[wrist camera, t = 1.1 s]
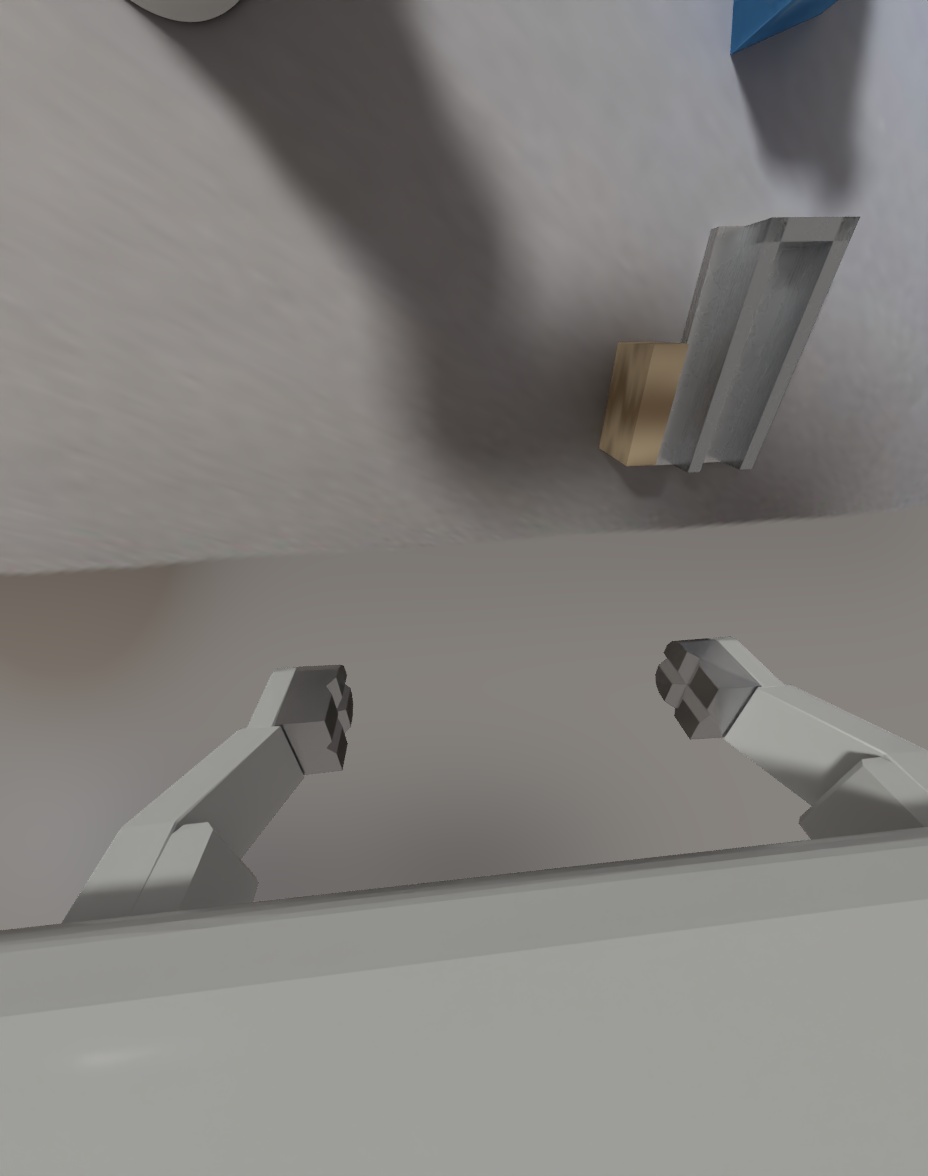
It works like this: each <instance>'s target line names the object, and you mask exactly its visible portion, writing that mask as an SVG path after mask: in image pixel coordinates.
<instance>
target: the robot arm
mask: <svg viewBox="0 0 928 1176" xmlns="http://www.w3.org/2000/svg"><path fill="white" fill-rule="evenodd" d="M131 1H132V2H134V3H135V4H137V5H139V6H140V7H142V8H144V9H146V10H148V11H150V12H152V13H154V14H156V15H159V16H162V17H165V18H168V19H171V20H176V21H183V22H199V21H205V20H209V19H212V18H215V17H217V16H219V15H221V14H223V13H225V12H226V11H228V10H229V9H230V8H232V7H233V6H234V5H235V4H236V3H237V2H238V1H239V0H131ZM664 654H665V655H666V657H667V659H666V660H664V661H663V662H662V663H661V664H659V666H658V669H657V671H656V674H655V675H656V685H657V688H658V691H659V693H660V695H661V696H662V698H663V699H664V701H665V702H667V703H668V704H670V705H671V706H673V707H674V708H675V715H674V716H675V718H676V719H677V721H678V722H679V724H680V725H681V727H682V728H683V730H684V731H685V733H686V734H687V736H688V737H689V738H690V739H704V738H720V737H725V738H724V740H725V741H727V742H728V743H729V744H731V745H732V746H733V747H735V748H736V749H737V750H739V751H740V752H741V753H743V754H744V755H745V756H746V757H748V758H749V759H750V760H752V761H753V762H755V763H756V764H757V765H758V766H760V767H761V768H762V769H764V770H765V771H766V772H768V773H769V774H770V775H772V776H773V777H774V778H776V779H777V780H778V781H779V782H781V783H782V784H783V785H785V786H786V787H787V788H789V789H790V790H791V791H793V792H794V793H795V794H797V795H798V796H799V797H801V798H802V799H803V800H805V801H806V802H807V803H809V804H810V805H811V807H810V808H809V809H808V810H807V811H806V812H805V813H804V814H803V815H802V816H800V819H799V824H800V826H801V827H802V828H803V830H804V831H805V832H806V834H807V835H808V836H809V837H810V839H811V840H804V841H794V842H786V843H776V844H767V845H758V846H749V847H741V848H732V849H723V850H714V851H705V852H696V853H687V854H678V855H669V856H660V857H651V858H642V859H633V860H624V861H615V862H606V863H597V864H588V865H580V866H571V867H562V868H553V869H544V870H536V871H526V872H517V873H508V874H499V875H491V876H481V877H473V878H463V879H454V880H445V881H437V882H427V883H418V884H411V885H401V886H392V887H384V888H374V889H365V890H356V891H347V892H339V893H330V894H321V895H312V896H303V897H294V898H285V899H276V900H267V901H259V902H253V900H254V897H255V893H256V890H257V887H258V883H259V882H258V880H257V878H256V877H255V875H254V874H253V873H252V872H251V870H250V869H249V868H248V867H247V866H246V865H245V864H244V863H243V861H242V860H241V858H242V857H243V856H244V854H245V853H246V852H247V851H248V849H249V848H250V847H251V845H252V844H253V843H254V842H255V840H256V839H257V838H258V836H259V835H260V834H261V832H262V831H263V830H264V829H265V827H266V826H267V825H268V823H269V822H270V821H271V820H272V818H273V817H274V816H275V815H276V813H277V812H278V811H279V809H280V808H281V807H282V806H283V804H284V803H285V802H286V800H287V799H288V798H289V796H290V795H291V794H292V793H293V791H294V790H295V789H296V787H297V786H298V785H299V784H300V782H301V781H302V780H303V779H304V775H308V774H317V773H325V772H334V771H342V770H343V765H344V760H345V755H346V749H347V744H348V743H347V740H346V737H345V733H346V731H347V730H348V729H349V728H350V727H351V722H352V716H353V698H352V692H351V688H350V687H348V686H347V685H345V682H346V677H347V674H346V671H345V668H344V666H343V665H325V666H303V667H292V668H277V669H276V670H275V671H274V672H273V673H272V674H271V676H270V678H269V681H268V683H267V685H266V687H265V689H264V692H263V694H262V696H261V698H260V700H259V702H258V705H257V707H256V709H255V711H254V713H253V715H252V718H251V720H250V722H249V724H248V726H247V728H246V729H239V730H238V731H237V732H235V733H234V734H233V735H232V736H231V737H230V738H228V739H227V740H226V741H225V742H223V743H222V744H221V745H220V746H219V747H217V749H215V750H214V751H213V752H211V753H210V754H209V755H208V756H207V757H205V758H204V759H203V760H202V761H201V762H199V763H198V764H197V765H196V766H195V767H194V768H192V769H191V770H190V771H189V772H188V773H186V774H185V775H184V776H183V777H182V778H180V779H179V780H178V781H177V782H176V783H174V784H173V785H172V786H171V787H170V788H168V789H167V790H166V791H165V792H163V793H162V794H161V795H160V796H159V797H157V798H156V799H155V800H154V801H153V802H151V803H150V804H149V805H148V806H147V807H146V808H144V809H143V810H142V811H141V812H139V813H138V814H137V815H136V816H135V817H133V818H132V819H131V820H130V821H129V822H128V823H126V824H125V825H124V826H123V827H122V828H121V829H120V830H119V832H118V833H117V835H116V837H115V838H114V840H113V841H112V843H111V845H110V846H109V848H108V850H107V851H106V853H105V854H104V856H103V858H102V859H101V861H100V862H99V864H98V866H97V867H96V869H95V870H94V872H93V874H92V875H91V877H90V878H89V880H88V881H87V883H86V885H85V886H84V888H83V890H82V891H81V893H80V894H79V896H78V898H77V899H76V901H75V902H74V904H73V906H72V907H71V909H70V911H69V912H68V914H67V915H66V917H65V919H64V920H63V922H62V923H61V924H53V925H45V926H36V927H26V928H17V929H9V930H0V1176H928V751H927V750H925V749H923V748H921V747H919V746H917V745H915V744H913V743H911V742H909V741H907V740H905V739H902V738H900V737H898V736H896V735H894V734H892V733H890V732H888V731H886V730H884V729H882V728H880V727H878V726H875V725H873V724H871V723H869V722H867V721H865V720H863V719H861V718H859V717H857V716H855V715H853V714H850V713H848V712H846V711H844V710H842V709H840V708H838V707H836V706H834V705H832V704H830V703H828V702H826V701H823V700H821V699H819V698H817V697H815V696H813V695H811V694H809V693H807V692H805V691H803V690H800V689H799V688H796V687H795V686H792V685H784V684H783V683H782V682H781V681H780V680H779V679H778V678H777V677H776V676H775V675H774V674H772V672H771V671H769V670H768V669H767V668H766V667H765V666H764V665H763V664H762V663H761V662H760V661H759V660H758V659H757V658H756V657H755V656H754V655H753V654H752V653H750V652H749V650H747V649H746V648H745V647H744V646H743V645H742V644H741V643H740V642H739V641H738V640H737V639H735V638H732V637H720V638H710V639H695V640H681V641H672V642H670V643H669V644H668V645H667V647H666V649H665V651H664Z"/></svg>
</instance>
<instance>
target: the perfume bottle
mask: <svg viewBox="0 0 928 1176" xmlns="http://www.w3.org/2000/svg"><path fill="white" fill-rule="evenodd" d="M836 1H838V0H734V5H733V20H732V36H731V51H730V55H731V54H733V53H735V52H738V51H740V50H742V49H744V48H746V47H749V46H751V45H753V44H755V43H757V42H760V41H762V40H764V39H766V38H768V37H771V36H773V35H775V34H777V33H780V32H782V31H784V30H786V29H788V28H791V27H793V26H795V25H797V24H799V23H802V22H804V21H806V20H808V19H810V18H813V17H815V16H817V15H819V14H821V13H822V12H824V11H825V10H826V9H827V8H829V7H830V6H831V5H832V4H834V3H835V2H836Z"/></svg>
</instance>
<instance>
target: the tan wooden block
mask: <svg viewBox="0 0 928 1176" xmlns="http://www.w3.org/2000/svg"><path fill="white" fill-rule="evenodd" d="M688 346H689V344H685V343H666V342H618V347H617V352H616V358H615V363H614V369H613V374H612V380H611V385H610V391H609V396H608V402H607V407H606V413H605V418H604V423H603V429H602V434H601V440H600V445H599V448H600V449H601V450H603V451H604V452H606V453H607V454H609V455H610V456H612V457H613V458H615V459H616V460H618V461H619V462H621V463H622V464H624V465H625V466H641V465H656V462H657V458H658V455H659V451H660V447H661V444H662V440H663V436H664V433H665V429H666V426H667V422H668V418H669V415H670V411H671V407H672V404H673V400H674V397H675V393H676V389H677V386H678V382H679V378H680V375H681V371H682V368H683V364H684V360H685V357H686V353H687V349H688Z"/></svg>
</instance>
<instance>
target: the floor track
mask: <svg viewBox="0 0 928 1176" xmlns="http://www.w3.org/2000/svg"><path fill="white" fill-rule="evenodd" d="M859 218H860V217H782V218H769V219H766V220H763V221H760V222H757V223H754V224H751V225H748V226H735V227H717V228H714V229H711V233H710V237H709V241H708V244H707V248H706V252H705V256H704V259H703V263H702V267H701V271H700V274H699V278H698V282H697V286H696V289H695V293H694V297H693V301H692V305H691V308H690V312H689V316H688V320H687V323H686V327H685V331H684V335H683V338H682V342H681V343H685V344H689V346H688V349H687V353H686V357H685V360H684V364H683V368H682V371H681V375H680V378H679V382H678V386H677V389H676V393H675V397H674V400H673V404H672V407H671V411H670V415H669V418H668V422H667V426H666V429H665V433H664V436H663V440H662V444H661V447H660V451H659V455H658V458H657V462H656V465H671V464H673V465H675V466H677V467H679V468H680V469H682V470H684V471H686V472H688V473H689V472H700V471H701V468H702V465H703V463H708V462H723V463H726V464H728V465H730V466H733V467H735V468H737V469H739V470H744V469H752V467H753V465H754V463H755V460H756V458H757V456H758V453H759V451H760V449H761V446H762V444H763V442H764V439H765V437H766V435H767V432H768V430H769V428H770V425H771V423H772V421H773V418H774V416H775V414H776V411H777V409H778V407H779V404H780V402H781V400H782V397H783V395H784V393H785V390H786V388H787V386H788V383H789V381H790V379H791V376H792V374H793V372H794V369H795V367H796V365H797V362H798V360H799V358H800V356H801V353H802V351H803V349H804V346H805V344H806V342H807V339H808V337H809V335H810V332H811V330H812V328H813V325H814V323H815V321H816V318H817V316H818V314H819V311H820V309H821V307H822V304H823V302H824V300H825V297H826V295H827V293H828V290H829V288H830V286H831V283H832V281H833V279H834V276H835V274H836V272H837V269H838V267H839V265H840V262H841V260H842V258H843V255H844V253H845V251H846V248H847V246H848V244H849V241H850V239H851V237H852V234H853V232H854V230H855V227H856V225H857V223H858V220H859Z"/></svg>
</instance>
